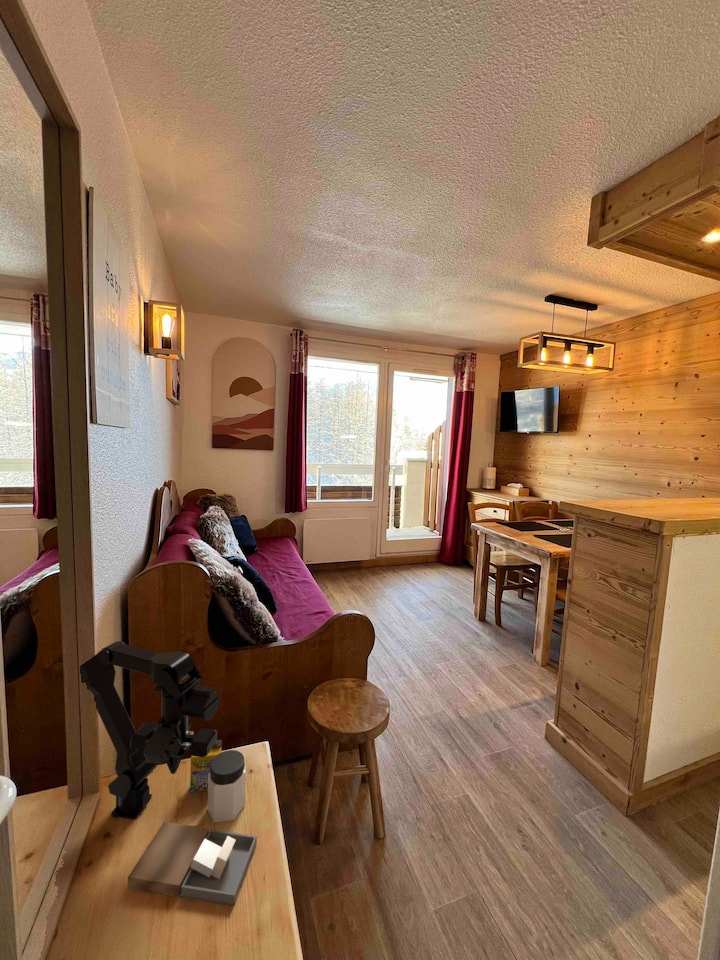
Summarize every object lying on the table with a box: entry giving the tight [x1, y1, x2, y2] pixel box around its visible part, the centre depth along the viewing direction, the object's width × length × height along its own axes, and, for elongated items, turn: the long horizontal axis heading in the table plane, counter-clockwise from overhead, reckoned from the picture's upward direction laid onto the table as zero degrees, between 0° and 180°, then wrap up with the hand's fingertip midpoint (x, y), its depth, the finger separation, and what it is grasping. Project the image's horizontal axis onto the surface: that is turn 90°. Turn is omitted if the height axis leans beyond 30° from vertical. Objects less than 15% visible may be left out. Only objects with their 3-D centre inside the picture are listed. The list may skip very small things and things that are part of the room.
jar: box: [207, 749, 247, 823], centre depth 96 cm, size 9×8×12 cm
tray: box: [180, 829, 258, 907], centre depth 82 cm, size 11×12×2 cm
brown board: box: [127, 821, 210, 898], centre depth 83 cm, size 11×12×2 cm
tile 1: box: [190, 839, 222, 878], centre depth 82 cm, size 4×4×2 cm
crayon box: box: [189, 739, 223, 793], centre depth 102 cm, size 7×3×12 cm, turn 101°
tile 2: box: [211, 836, 236, 879], centre depth 82 cm, size 4×4×2 cm
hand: (173, 772), depth 92 cm, fingers closed
